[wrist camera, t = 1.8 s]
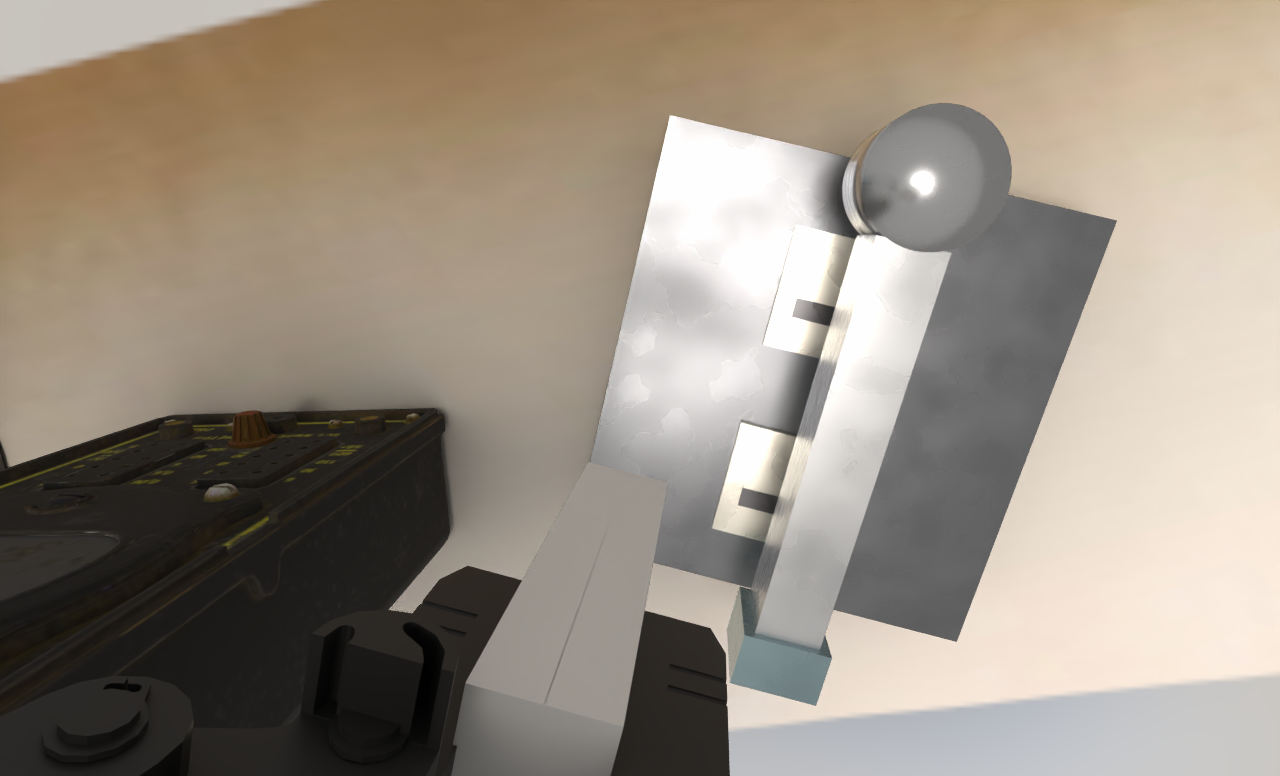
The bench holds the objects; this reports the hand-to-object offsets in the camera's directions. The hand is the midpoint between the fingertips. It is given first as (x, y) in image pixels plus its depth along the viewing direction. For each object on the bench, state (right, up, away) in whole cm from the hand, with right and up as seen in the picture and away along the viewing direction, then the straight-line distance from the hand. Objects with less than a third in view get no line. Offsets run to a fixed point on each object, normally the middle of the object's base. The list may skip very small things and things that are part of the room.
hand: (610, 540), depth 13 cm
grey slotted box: (+9, +3, +20) cm, 22 cm away
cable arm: (+8, +2, +14) cm, 16 cm away
